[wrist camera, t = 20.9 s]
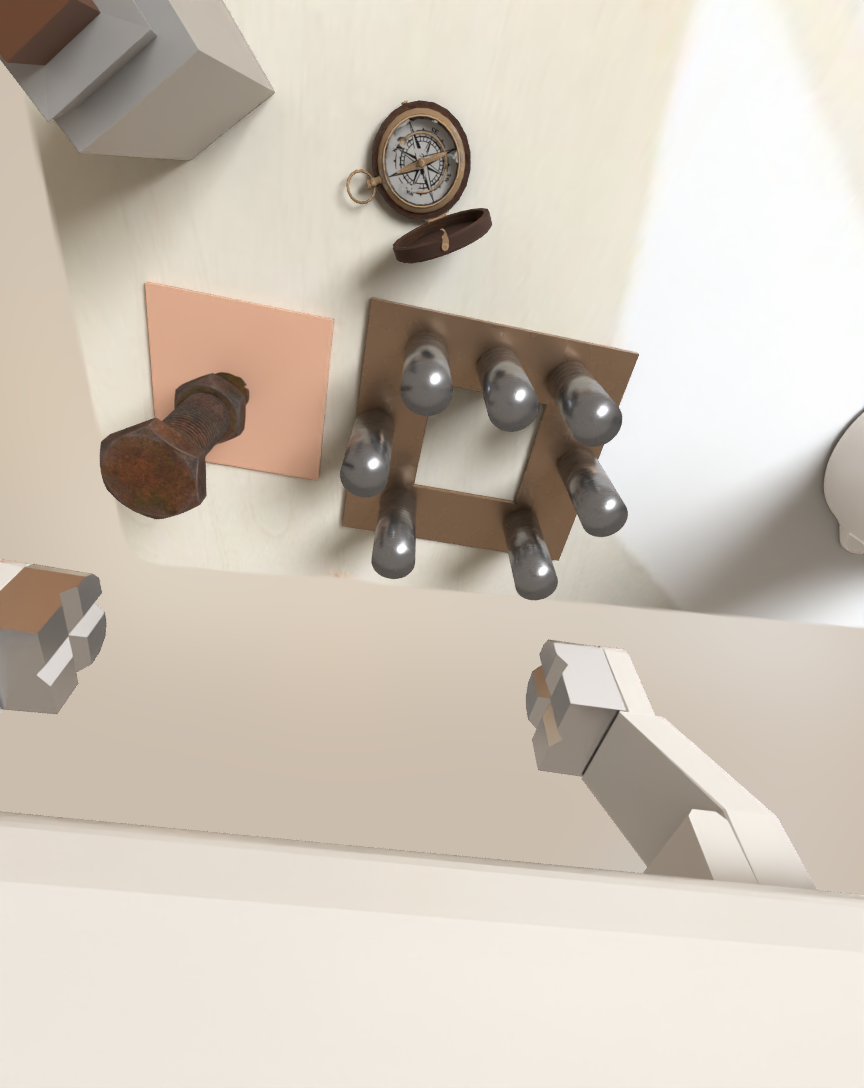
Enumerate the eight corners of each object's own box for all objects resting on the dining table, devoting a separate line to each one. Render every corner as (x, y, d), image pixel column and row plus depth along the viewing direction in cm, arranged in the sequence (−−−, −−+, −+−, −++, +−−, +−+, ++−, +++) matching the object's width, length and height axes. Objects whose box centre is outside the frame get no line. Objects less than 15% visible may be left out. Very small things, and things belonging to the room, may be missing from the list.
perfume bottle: (107, 36, 32) (-174, -86, 17) (196, -47, 30) (-30, -265, 15) (190, 160, 35) (16, 149, 20) (275, 92, 34) (152, 24, 19)
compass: (452, 82, 33) (458, 61, 27) (487, 227, 38) (499, 237, 32) (329, 134, 35) (308, 125, 29) (376, 268, 39) (366, 286, 33)
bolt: (262, 430, 45) (198, 530, 32) (197, 419, 44) (106, 515, 32) (264, 358, 42) (195, 436, 29) (194, 344, 41) (93, 418, 29)
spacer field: (638, 352, 42) (684, 391, 35) (558, 557, 52) (580, 621, 45) (370, 297, 40) (357, 325, 32) (341, 522, 50) (327, 584, 42)
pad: (333, 319, 41) (333, 320, 40) (318, 478, 48) (317, 480, 47) (147, 281, 39) (144, 282, 39) (159, 451, 46) (157, 453, 46)
